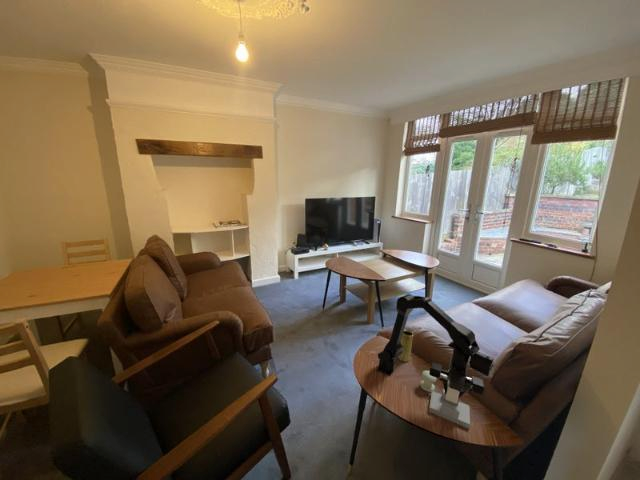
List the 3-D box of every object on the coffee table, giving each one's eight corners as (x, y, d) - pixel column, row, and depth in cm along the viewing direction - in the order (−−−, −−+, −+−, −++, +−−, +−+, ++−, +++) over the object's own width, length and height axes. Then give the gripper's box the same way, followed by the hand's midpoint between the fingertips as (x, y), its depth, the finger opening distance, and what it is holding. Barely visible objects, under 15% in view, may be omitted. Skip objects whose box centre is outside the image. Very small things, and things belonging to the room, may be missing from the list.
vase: (410, 363, 132) (415, 337, 129) (398, 360, 133) (402, 335, 130) (409, 355, 138) (413, 331, 135) (397, 353, 139) (401, 329, 136)
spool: (419, 388, 115) (421, 376, 114) (421, 380, 120) (423, 368, 119) (433, 394, 112) (436, 382, 111) (435, 385, 118) (437, 373, 116)
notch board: (428, 411, 103) (430, 400, 102) (431, 394, 112) (433, 384, 111) (469, 428, 97) (471, 417, 96) (468, 409, 106) (470, 399, 105)
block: (445, 399, 103) (448, 386, 101) (445, 392, 106) (448, 379, 105) (456, 403, 101) (459, 390, 100) (456, 396, 104) (459, 384, 103)
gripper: (431, 363, 97) (424, 399, 100) (490, 384, 89) (480, 422, 92) (434, 348, 107) (427, 381, 110) (487, 366, 99) (478, 401, 102)
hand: (451, 395), depth 103 cm, fingers closed on block, 4 cm apart
